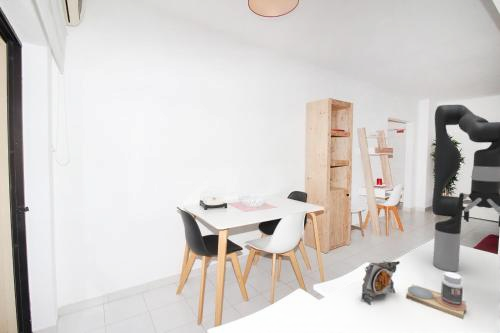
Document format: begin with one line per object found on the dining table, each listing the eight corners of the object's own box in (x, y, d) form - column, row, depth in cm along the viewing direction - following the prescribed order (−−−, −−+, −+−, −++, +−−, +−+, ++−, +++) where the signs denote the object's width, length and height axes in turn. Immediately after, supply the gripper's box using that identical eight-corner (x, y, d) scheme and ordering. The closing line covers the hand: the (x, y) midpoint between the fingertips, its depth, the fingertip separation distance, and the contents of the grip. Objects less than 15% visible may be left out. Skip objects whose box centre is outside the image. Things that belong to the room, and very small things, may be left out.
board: (412, 287, 99) (412, 284, 99) (465, 304, 87) (465, 301, 87) (406, 297, 92) (406, 294, 91) (462, 318, 80) (463, 315, 80)
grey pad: (410, 284, 98) (410, 283, 98) (435, 292, 93) (435, 292, 93) (405, 293, 92) (405, 292, 92) (431, 302, 87) (431, 301, 87)
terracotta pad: (438, 293, 92) (438, 293, 92) (467, 303, 86) (467, 302, 86) (435, 303, 86) (435, 302, 86) (465, 314, 81) (465, 313, 81)
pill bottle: (465, 308, 83) (467, 280, 82) (446, 306, 84) (448, 278, 83) (455, 298, 88) (456, 271, 88) (437, 296, 90) (438, 270, 89)
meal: (371, 306, 87) (372, 270, 86) (361, 299, 91) (362, 265, 90) (399, 295, 93) (400, 261, 92) (388, 289, 97) (389, 257, 96)
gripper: (514, 179, 85) (511, 225, 86) (460, 176, 95) (458, 217, 96) (515, 182, 80) (512, 230, 81) (458, 178, 90) (456, 222, 91)
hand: (482, 223), depth 89 cm, fingers open, 8 cm apart
